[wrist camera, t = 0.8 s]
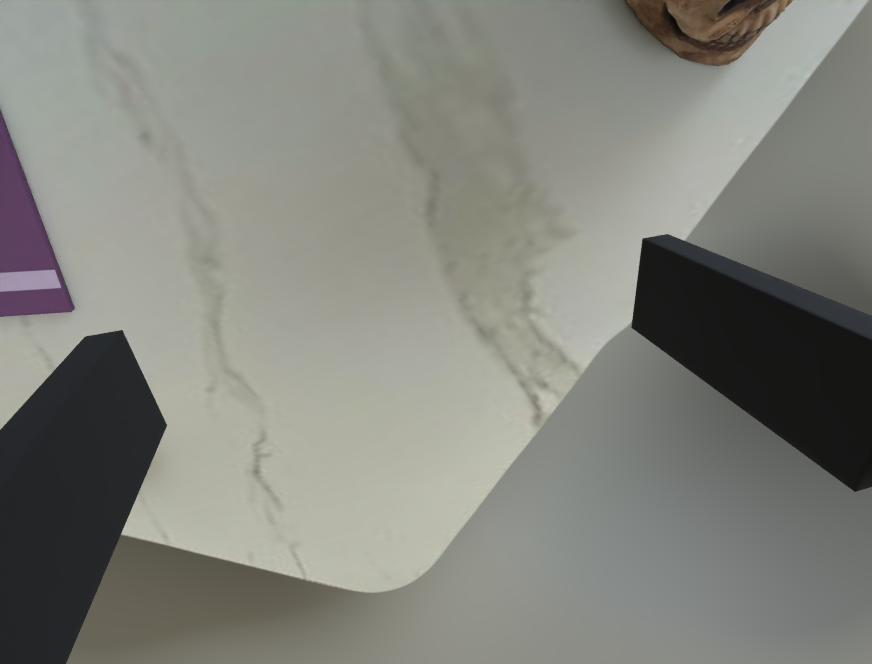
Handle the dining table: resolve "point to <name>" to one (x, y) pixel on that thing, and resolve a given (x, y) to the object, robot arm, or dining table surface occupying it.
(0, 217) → the towel
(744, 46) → the coin bank
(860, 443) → the robot arm
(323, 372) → the dining table surface
